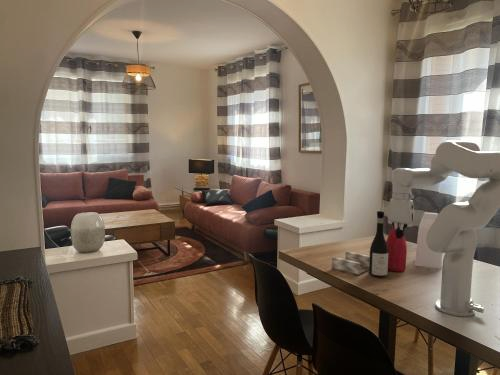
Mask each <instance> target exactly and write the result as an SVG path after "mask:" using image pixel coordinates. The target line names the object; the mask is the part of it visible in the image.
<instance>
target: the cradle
mask: <svg viewBox="0 0 500 375" xmlns="http://www.w3.org/2000/svg"><path fill="white" fill-rule="evenodd" d="M369 261H370V255H366V254H362V253H357V252H354V251H353V252H352V251H347V250H346V251H345V258H341V257H336V256H332V257H331V270H333V271H336V272H340V273H344V274H347V275H352V276H355V277H360V276H363V274H366V273H368V272H369Z"/></svg>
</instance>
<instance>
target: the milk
mask: <svg viewBox="0 0 500 375" xmlns="http://www.w3.org/2000/svg"><path fill="white" fill-rule="evenodd" d="M438 215H439V213H437V212H424V213H423V215H422V217H421V220H420V223H419V226H418V230H417V240H416V249H415V258H414V266H419V267H424V268H432V269H433V268H434V269H438V270H439V269H441V270H442V265H443V258H442V257H443V253H437V252H434V251H432V250H431V249H430V248H429V247H428V245H427V241H426V237H427V233H428V231H429V229H430V227H431V226H432V224H433V222H434V221H435V219H436V218H437V216H438Z"/></svg>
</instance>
